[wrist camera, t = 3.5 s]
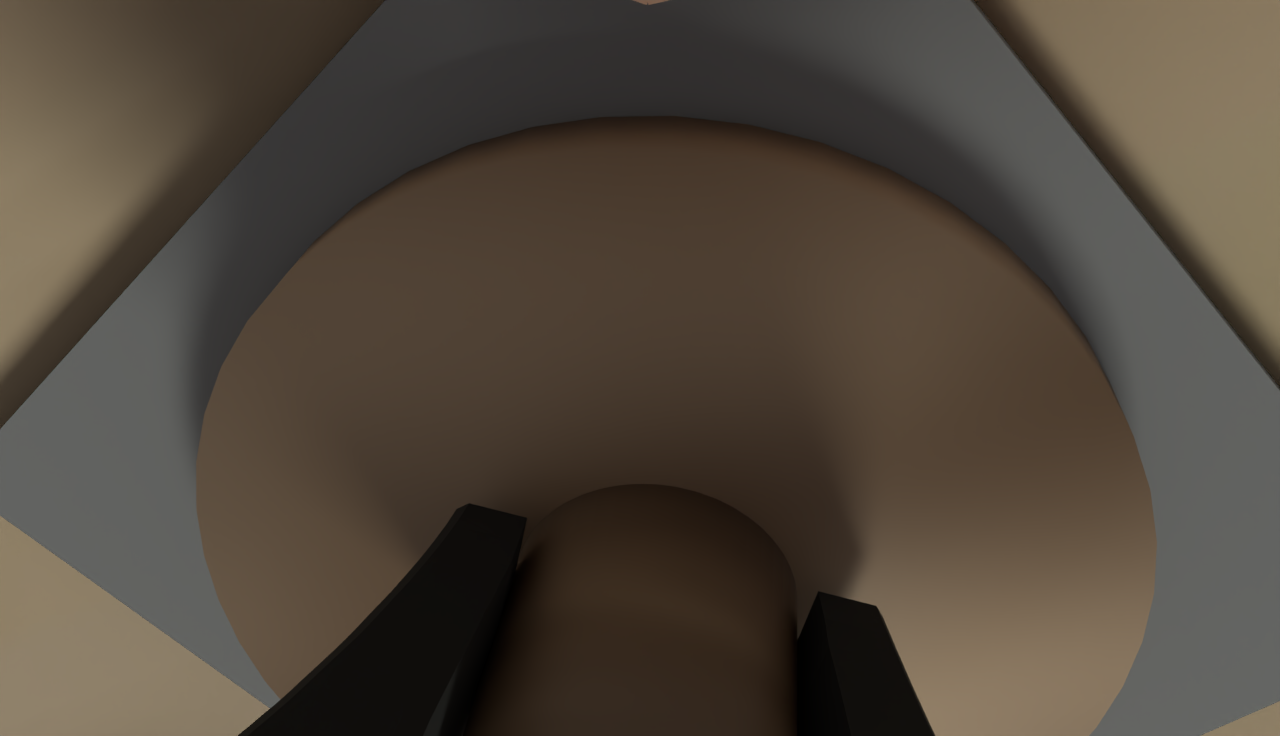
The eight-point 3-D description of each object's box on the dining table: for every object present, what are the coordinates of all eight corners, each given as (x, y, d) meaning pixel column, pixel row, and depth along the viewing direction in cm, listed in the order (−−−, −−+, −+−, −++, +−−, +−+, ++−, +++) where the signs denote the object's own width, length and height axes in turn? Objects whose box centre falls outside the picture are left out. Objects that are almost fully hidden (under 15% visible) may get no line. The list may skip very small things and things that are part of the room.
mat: (1443, 595, 12) (1463, 622, 12) (648, 952, 18) (645, 976, 17) (700, -346, 9) (696, -346, 8) (-27, 462, 14) (-48, 481, 13)
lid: (1325, 606, 12) (1553, 1011, 8) (651, 922, 16) (609, 1279, 13) (682, -136, 9) (604, -7, 5) (66, 495, 13) (-207, 803, 10)
